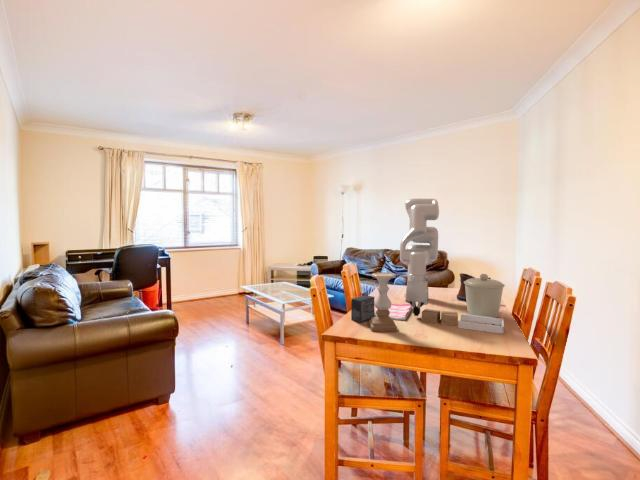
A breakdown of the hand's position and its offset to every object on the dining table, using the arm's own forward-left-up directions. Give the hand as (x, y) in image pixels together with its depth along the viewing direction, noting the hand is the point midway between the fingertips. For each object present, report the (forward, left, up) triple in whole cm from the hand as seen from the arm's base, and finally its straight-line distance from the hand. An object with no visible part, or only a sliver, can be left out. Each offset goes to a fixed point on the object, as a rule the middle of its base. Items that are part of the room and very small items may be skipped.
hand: (416, 315), depth 170 cm
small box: (+13, -23, -2) cm, 26 cm away
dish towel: (-4, -13, -2) cm, 14 cm away
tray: (0, +28, -1) cm, 28 cm away
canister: (-17, +28, -2) cm, 33 cm away
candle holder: (+21, -11, -2) cm, 24 cm away
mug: (-49, +22, -2) cm, 54 cm away
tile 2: (0, +15, -2) cm, 15 cm away
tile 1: (0, +7, -2) cm, 7 cm away
